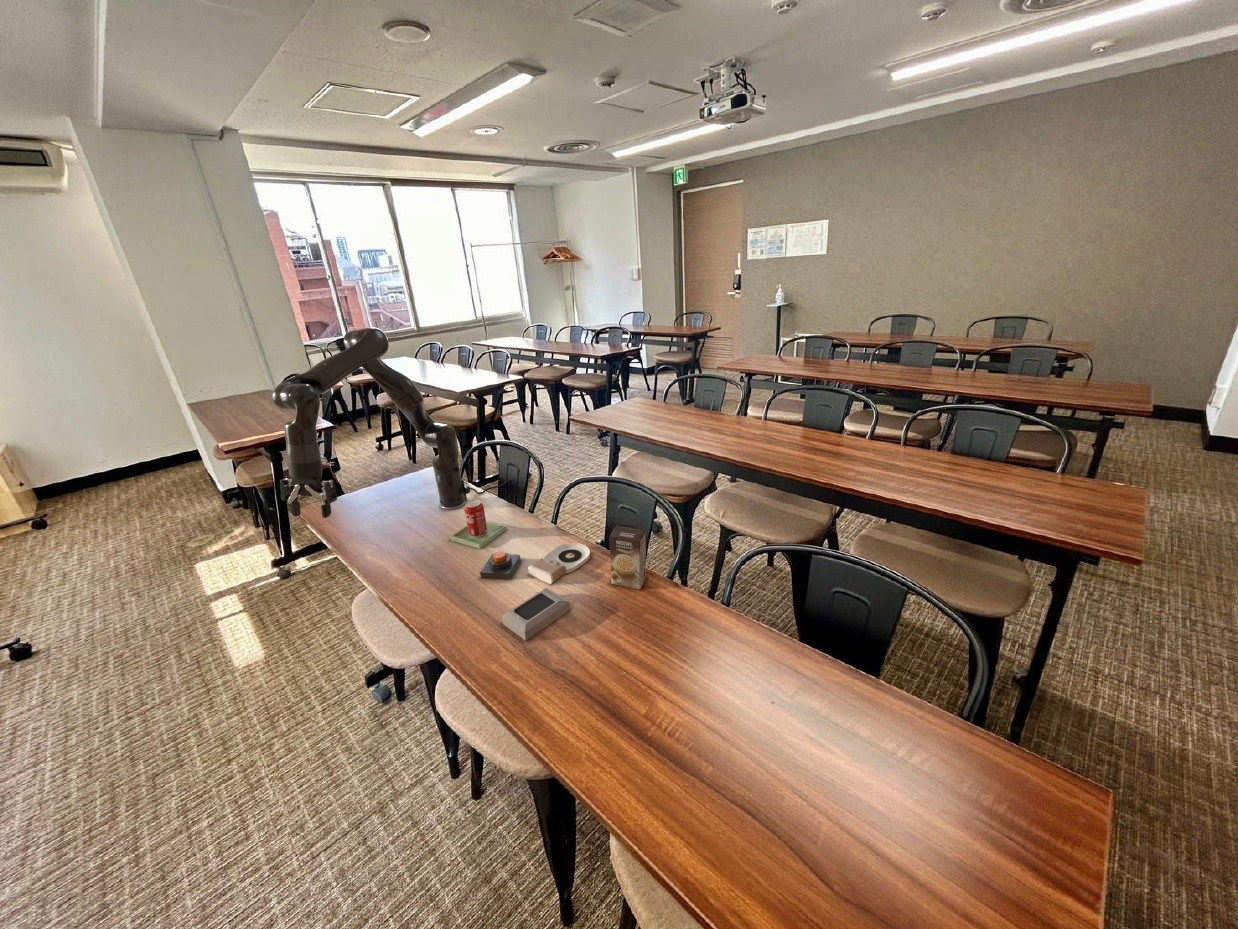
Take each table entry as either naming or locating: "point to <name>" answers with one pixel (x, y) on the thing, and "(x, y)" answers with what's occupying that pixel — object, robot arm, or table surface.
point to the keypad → (535, 613)
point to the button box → (500, 567)
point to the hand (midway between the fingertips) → (311, 516)
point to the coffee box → (628, 556)
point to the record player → (560, 562)
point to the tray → (478, 542)
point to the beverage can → (475, 518)
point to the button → (499, 557)
